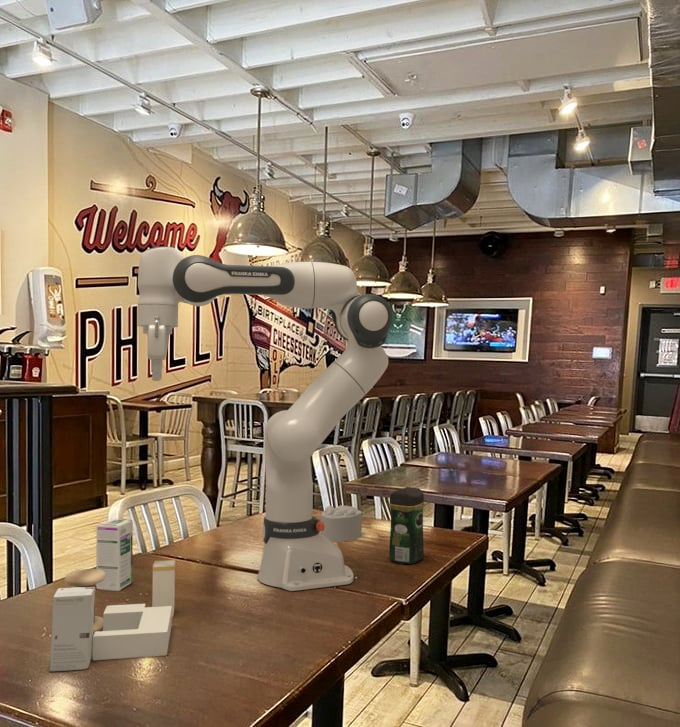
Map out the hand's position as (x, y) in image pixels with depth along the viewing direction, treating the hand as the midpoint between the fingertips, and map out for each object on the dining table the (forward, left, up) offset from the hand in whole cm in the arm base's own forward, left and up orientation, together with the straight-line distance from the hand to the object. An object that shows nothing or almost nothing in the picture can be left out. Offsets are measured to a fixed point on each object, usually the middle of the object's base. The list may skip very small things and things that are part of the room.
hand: (156, 380), depth 144 cm
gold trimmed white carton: (-3, +17, -46) cm, 49 cm away
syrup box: (+9, -1, -46) cm, 47 cm away
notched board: (+1, +30, -46) cm, 55 cm away
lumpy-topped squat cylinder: (-49, -35, -46) cm, 76 cm away
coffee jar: (-62, -11, -46) cm, 79 cm away
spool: (+11, +22, -46) cm, 52 cm away
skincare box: (+10, +37, -46) cm, 60 cm away
